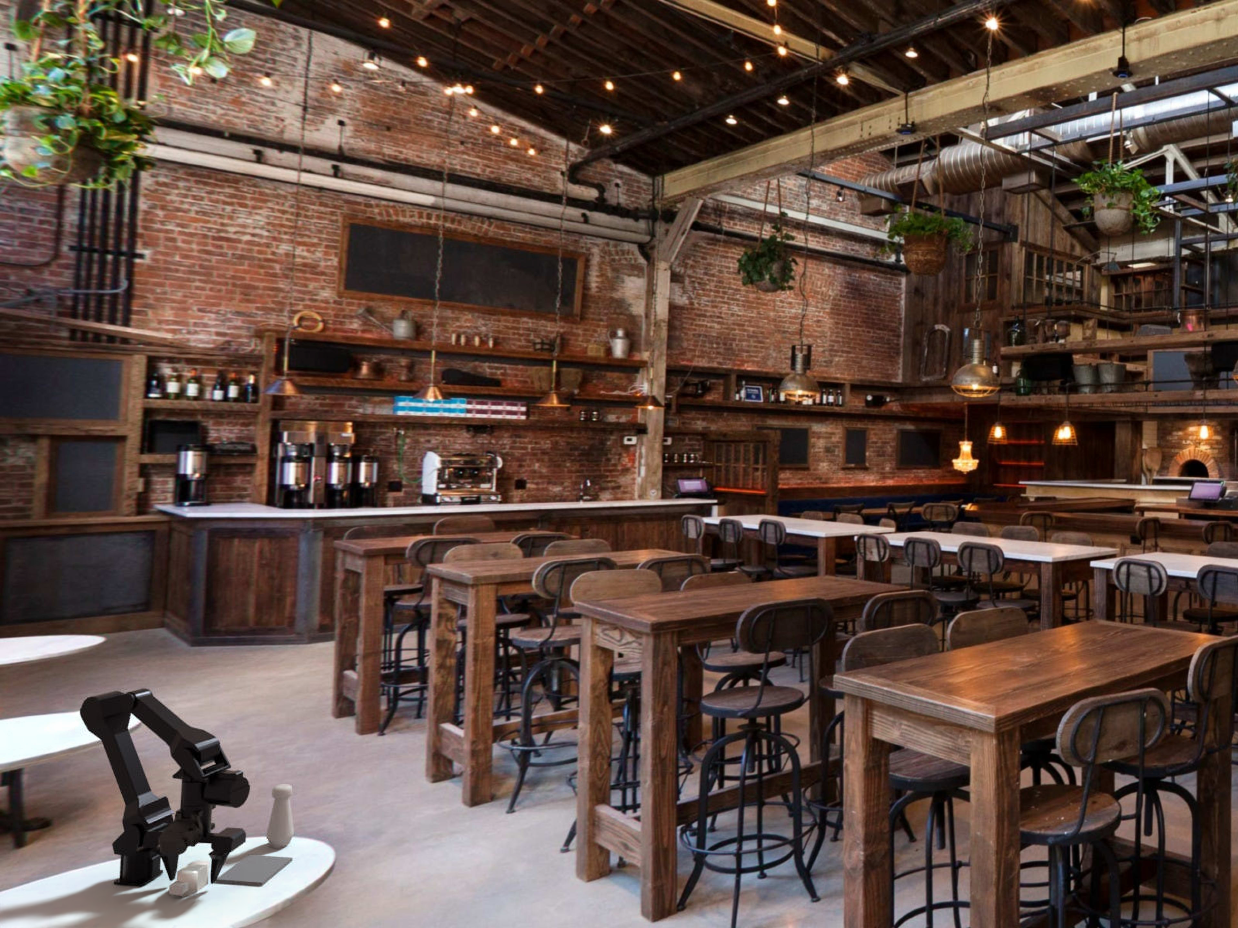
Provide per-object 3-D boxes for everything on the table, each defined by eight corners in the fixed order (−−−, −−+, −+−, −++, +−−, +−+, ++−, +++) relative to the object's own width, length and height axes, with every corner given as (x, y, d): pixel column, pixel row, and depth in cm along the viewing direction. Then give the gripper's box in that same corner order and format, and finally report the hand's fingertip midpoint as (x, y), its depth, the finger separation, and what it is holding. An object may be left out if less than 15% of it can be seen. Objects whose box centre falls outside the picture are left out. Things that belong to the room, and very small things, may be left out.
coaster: (215, 881, 166) (215, 878, 166) (248, 857, 178) (248, 854, 178) (262, 885, 165) (262, 882, 165) (292, 860, 177) (292, 857, 177)
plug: (193, 879, 167) (194, 859, 167) (212, 880, 167) (213, 860, 167) (165, 899, 158) (166, 878, 158) (184, 901, 158) (185, 880, 158)
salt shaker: (283, 850, 182) (285, 790, 182) (260, 848, 183) (262, 788, 183) (298, 840, 187) (301, 782, 188) (276, 838, 188) (278, 780, 189)
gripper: (125, 813, 157) (120, 896, 156) (216, 819, 155) (212, 903, 154) (163, 793, 168) (159, 871, 167) (249, 798, 166) (245, 877, 165)
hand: (192, 881), depth 163 cm, fingers open, 8 cm apart
